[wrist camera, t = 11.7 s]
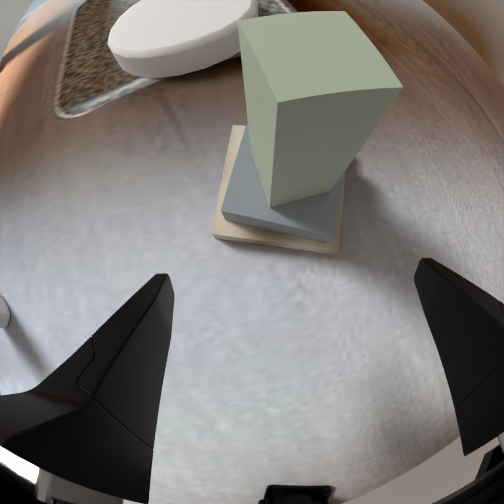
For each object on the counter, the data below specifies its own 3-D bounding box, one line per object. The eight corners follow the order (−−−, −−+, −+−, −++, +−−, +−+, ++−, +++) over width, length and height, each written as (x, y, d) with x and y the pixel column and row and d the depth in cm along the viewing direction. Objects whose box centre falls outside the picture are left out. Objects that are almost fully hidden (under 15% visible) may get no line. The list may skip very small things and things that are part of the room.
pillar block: (308, 137, 19) (344, 11, 8) (330, 191, 19) (403, 87, 7) (251, 151, 19) (237, 20, 8) (269, 207, 19) (277, 102, 7)
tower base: (338, 153, 25) (345, 140, 22) (332, 255, 23) (340, 251, 21) (235, 139, 25) (233, 124, 23) (216, 240, 24) (211, 234, 21)
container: (197, 97, 26) (187, 68, 21) (92, 66, 28) (79, 47, 24) (285, 15, 28) (286, -10, 23) (179, -4, 30) (173, -24, 26)
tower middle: (340, 154, 22) (348, 140, 20) (326, 243, 21) (334, 237, 19) (250, 133, 23) (248, 117, 20) (225, 219, 22) (220, 210, 19)
